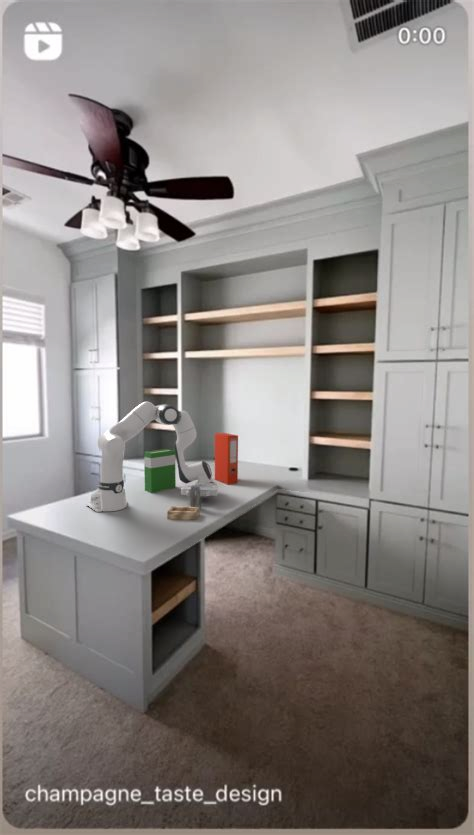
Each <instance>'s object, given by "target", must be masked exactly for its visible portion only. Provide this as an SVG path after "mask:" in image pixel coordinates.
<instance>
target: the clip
mask: <svg viewBox="0 0 474 835" xmlns="http://www.w3.org/2000/svg"><path fill="white" fill-rule="evenodd" d="M190 486H191V495H190V507H199V510H201V496H200V485H195V484H192V485H190ZM195 491H196V495H195Z"/></svg>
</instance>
